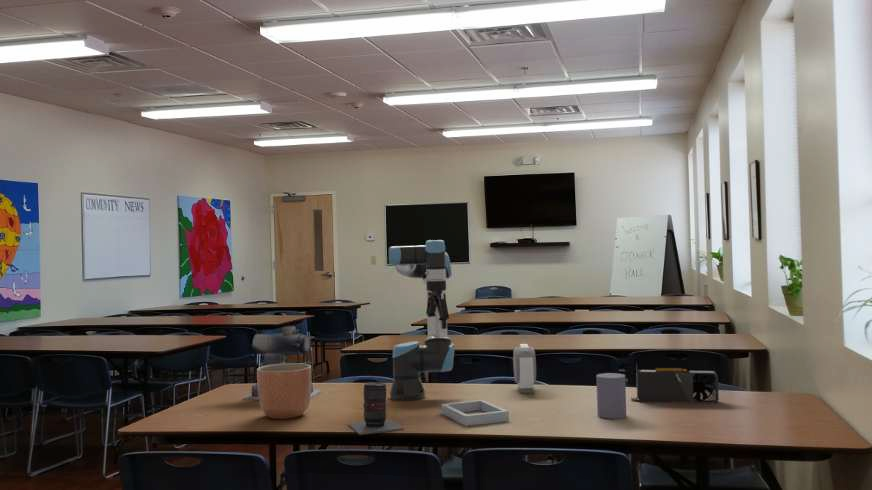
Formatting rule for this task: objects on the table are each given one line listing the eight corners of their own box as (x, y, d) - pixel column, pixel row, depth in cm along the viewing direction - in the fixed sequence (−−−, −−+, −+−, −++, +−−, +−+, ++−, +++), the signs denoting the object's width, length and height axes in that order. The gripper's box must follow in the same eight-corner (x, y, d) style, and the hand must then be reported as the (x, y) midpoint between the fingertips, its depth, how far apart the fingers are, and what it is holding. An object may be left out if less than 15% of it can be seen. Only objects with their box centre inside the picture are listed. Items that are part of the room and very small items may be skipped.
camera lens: (383, 428, 264) (383, 385, 264) (361, 427, 265) (361, 385, 265) (388, 423, 272) (388, 381, 272) (367, 422, 273) (366, 381, 273)
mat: (347, 425, 273) (347, 423, 273) (389, 420, 278) (389, 418, 278) (359, 435, 258) (359, 433, 258) (403, 429, 263) (403, 427, 263)
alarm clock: (537, 393, 320) (535, 346, 320) (517, 394, 320) (516, 347, 320) (532, 386, 338) (531, 341, 338) (513, 386, 338) (512, 342, 338)
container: (610, 420, 268) (609, 379, 268) (591, 415, 277) (590, 375, 277) (632, 417, 272) (631, 375, 273) (613, 412, 282) (612, 372, 282)
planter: (253, 414, 297) (252, 366, 297) (305, 408, 305) (304, 361, 305) (263, 424, 278) (262, 373, 278) (318, 418, 286) (316, 368, 286)
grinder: (258, 391, 346) (256, 325, 346) (322, 392, 340) (320, 324, 340) (240, 399, 327) (238, 329, 328) (308, 400, 322) (306, 328, 322)
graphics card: (631, 402, 299) (630, 366, 299) (631, 399, 303) (630, 364, 303) (718, 404, 291) (718, 367, 291) (717, 402, 295) (716, 365, 295)
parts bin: (441, 413, 288) (441, 404, 288) (482, 408, 294) (482, 399, 294) (465, 426, 266) (465, 416, 266) (509, 420, 272) (508, 411, 272)
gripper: (417, 279, 298) (418, 332, 299) (437, 282, 275) (439, 339, 275) (435, 278, 301) (436, 331, 301) (456, 281, 277) (458, 338, 277)
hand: (437, 335), depth 288 cm, fingers open, 13 cm apart
